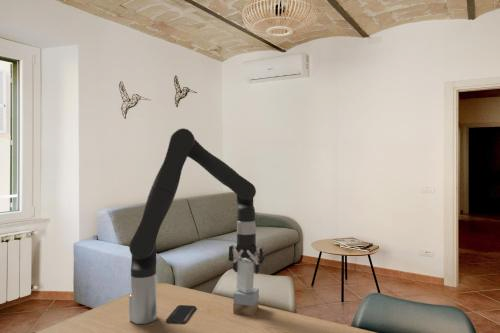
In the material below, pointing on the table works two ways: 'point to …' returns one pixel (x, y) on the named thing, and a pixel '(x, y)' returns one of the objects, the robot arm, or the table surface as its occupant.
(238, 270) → the skincare box
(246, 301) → the tower top
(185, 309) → the phone
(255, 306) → the tower bottom
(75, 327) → the table surface
